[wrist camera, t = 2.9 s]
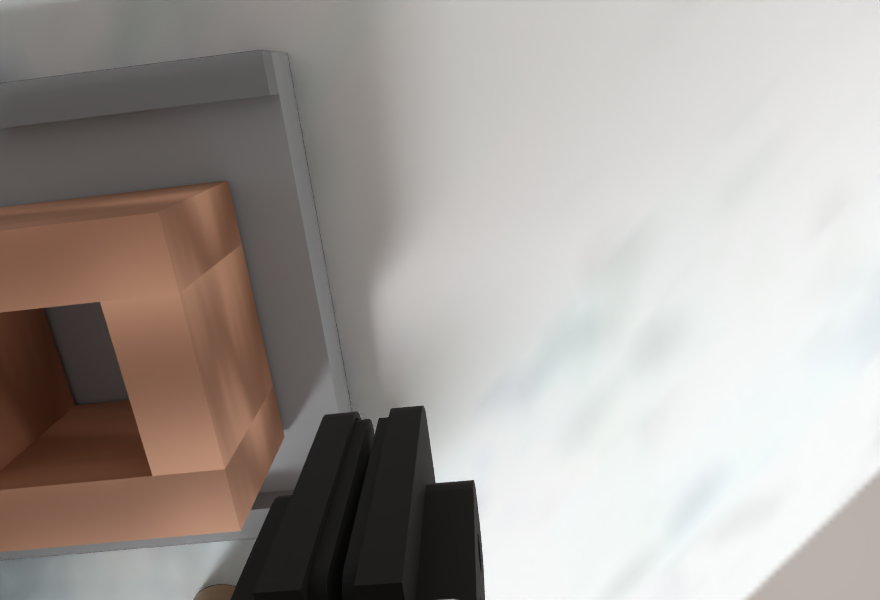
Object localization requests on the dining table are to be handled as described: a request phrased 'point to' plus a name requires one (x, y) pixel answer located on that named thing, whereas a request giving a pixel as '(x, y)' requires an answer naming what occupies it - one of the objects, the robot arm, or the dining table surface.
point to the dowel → (216, 593)
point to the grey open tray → (178, 164)
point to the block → (132, 371)
